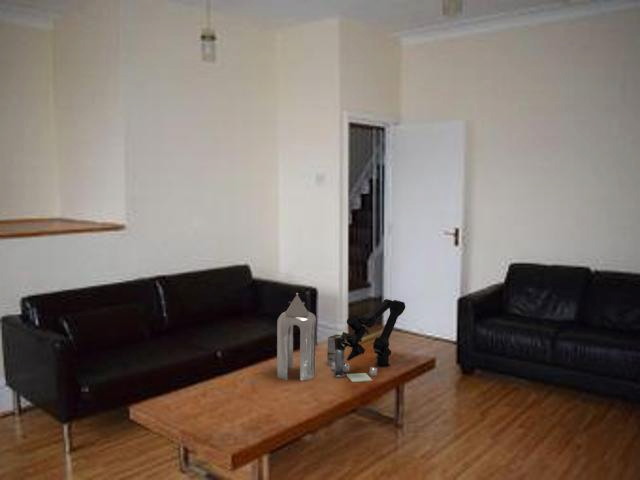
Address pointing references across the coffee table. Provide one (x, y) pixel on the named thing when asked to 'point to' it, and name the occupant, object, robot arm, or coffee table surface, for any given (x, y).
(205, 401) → the coffee table surface
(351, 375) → the pad
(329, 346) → the coffee box
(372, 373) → the cylinder
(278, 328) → the grey metal tall arch
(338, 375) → the standoff
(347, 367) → the cylinder
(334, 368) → the cylinder
